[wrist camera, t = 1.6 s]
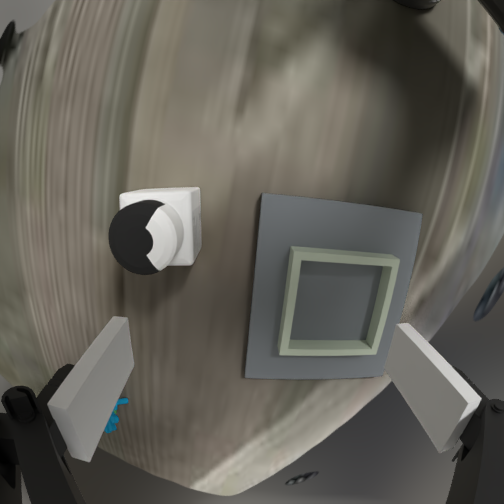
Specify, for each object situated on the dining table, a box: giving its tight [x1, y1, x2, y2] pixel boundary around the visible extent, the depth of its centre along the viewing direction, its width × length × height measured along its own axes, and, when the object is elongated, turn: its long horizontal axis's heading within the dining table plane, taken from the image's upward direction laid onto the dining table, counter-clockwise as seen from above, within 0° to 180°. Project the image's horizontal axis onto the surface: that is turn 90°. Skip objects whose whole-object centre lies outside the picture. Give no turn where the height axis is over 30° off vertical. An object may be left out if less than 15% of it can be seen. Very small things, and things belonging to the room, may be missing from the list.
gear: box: [104, 398, 128, 433], centre depth 43 cm, size 11×6×10 cm
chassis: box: [245, 193, 423, 379], centre depth 39 cm, size 26×22×4 cm
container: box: [109, 187, 202, 275], centre depth 32 cm, size 8×8×13 cm
